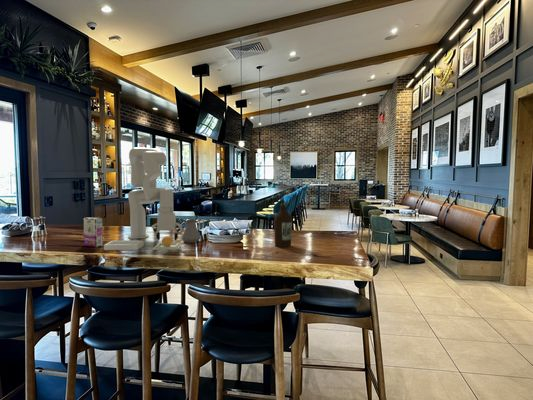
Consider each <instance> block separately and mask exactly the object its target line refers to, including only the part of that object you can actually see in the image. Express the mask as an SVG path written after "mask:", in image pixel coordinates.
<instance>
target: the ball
mask: <svg viewBox="0 0 533 400" xmlns="http://www.w3.org/2000/svg"><path fill="white" fill-rule="evenodd" d="M161 243H162V244H163V245H164V246H165V247H169V246H171V245H172V243H174V242H173V239H172V237H171V236H169V235H168V236H164V237H162V239H161Z"/></svg>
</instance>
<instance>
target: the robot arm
mask: <svg viewBox="0 0 533 400" xmlns="http://www.w3.org/2000/svg"><path fill="white" fill-rule="evenodd" d="M128 158H129V162H130V166H131V167H130V170H131V171H130V174H131V175H130V184H131V186H132V187H133V188H135V189H133V190H130V191H129V192H128V195H127V197H128V203H129V213H130V214H129V219H130V235H128V239H131V240H133V239H134V240H138V239H146V238H148V237H149V234H147V221H146V219H147V218H146V217H147V216H146V208H145V207H144V206H143V205H147V204H148V205H149V204H154V203H155V202H159V207H158V208H156V209H157V210H156V211H159V212H158V214H157V220H156V221H157V222H155V223H154V224H152V225H151V228H152V231H153V232H155V234H156V236H155V237H156V240H157V241H159V240H161V233H160V231H173V232H174V241H177V239H178V238H179V232H180V231H181V230H182V228H183V225H182V224H181V223H178V222H177V219H176V213H175V211H174V190H173V189H172V188H168V187H157V179H158V178H159V177H160V176H161V175H162V170H161V166H165V165H166V163H167V156H166V153H165V152H163V151H162V150H160V149H158V148H155V147H154V148H152V147H151V148H150V147H133V148H131V149H130V150H129V153H128ZM177 226H178V228H177Z"/></svg>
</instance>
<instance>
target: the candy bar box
mask: <svg viewBox="0 0 533 400" xmlns="http://www.w3.org/2000/svg"><path fill="white" fill-rule="evenodd" d="M103 229H104V226H103V218H101V217H92V216H91V217H84V218H83V242H84V243H83V244H84V245H83V246H86V247H94V248H99V247H104V230H103Z"/></svg>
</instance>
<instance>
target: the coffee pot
mask: <svg viewBox="0 0 533 400" xmlns="http://www.w3.org/2000/svg"><path fill="white" fill-rule="evenodd" d="M198 218H199V214H197V215H196V216H195V218H194V220H186V221H185V223H186V226H185V228H184V231H183V233H182V236H181V239H182V240H183V242H184V243H186V244H187V243H189V244H191V243H192V244H194V243H197V241H200V239H201V234H200V232H199V230H198V227H197V225H196V224H197V219H198Z"/></svg>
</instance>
